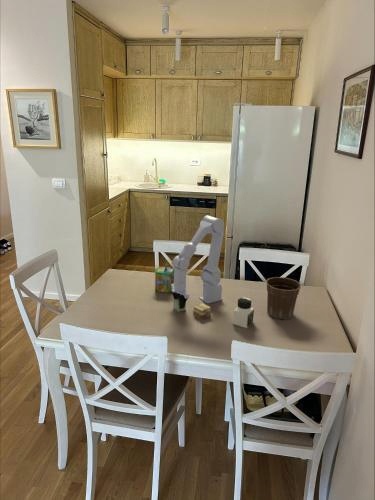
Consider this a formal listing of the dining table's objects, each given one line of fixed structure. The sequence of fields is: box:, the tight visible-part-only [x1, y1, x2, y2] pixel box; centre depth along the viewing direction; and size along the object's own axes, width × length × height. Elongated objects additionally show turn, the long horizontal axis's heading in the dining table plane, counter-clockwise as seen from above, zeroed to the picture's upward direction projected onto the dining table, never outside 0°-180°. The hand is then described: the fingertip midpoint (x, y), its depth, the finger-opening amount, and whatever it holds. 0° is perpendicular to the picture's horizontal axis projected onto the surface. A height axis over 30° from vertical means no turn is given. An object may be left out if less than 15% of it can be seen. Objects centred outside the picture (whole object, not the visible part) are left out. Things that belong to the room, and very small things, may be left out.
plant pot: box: [265, 276, 302, 320], centre depth 175 cm, size 16×16×16 cm
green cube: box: [172, 298, 187, 312], centre depth 179 cm, size 4×4×4 cm
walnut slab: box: [192, 309, 212, 321], centre depth 174 cm, size 6×6×2 cm
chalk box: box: [154, 263, 174, 294], centre depth 199 cm, size 9×9×15 cm
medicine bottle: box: [232, 297, 255, 329], centre depth 166 cm, size 7×7×12 cm
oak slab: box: [193, 302, 211, 315], centre depth 173 cm, size 6×6×2 cm
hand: (179, 306), depth 180 cm, fingers closed on green cube, 4 cm apart
